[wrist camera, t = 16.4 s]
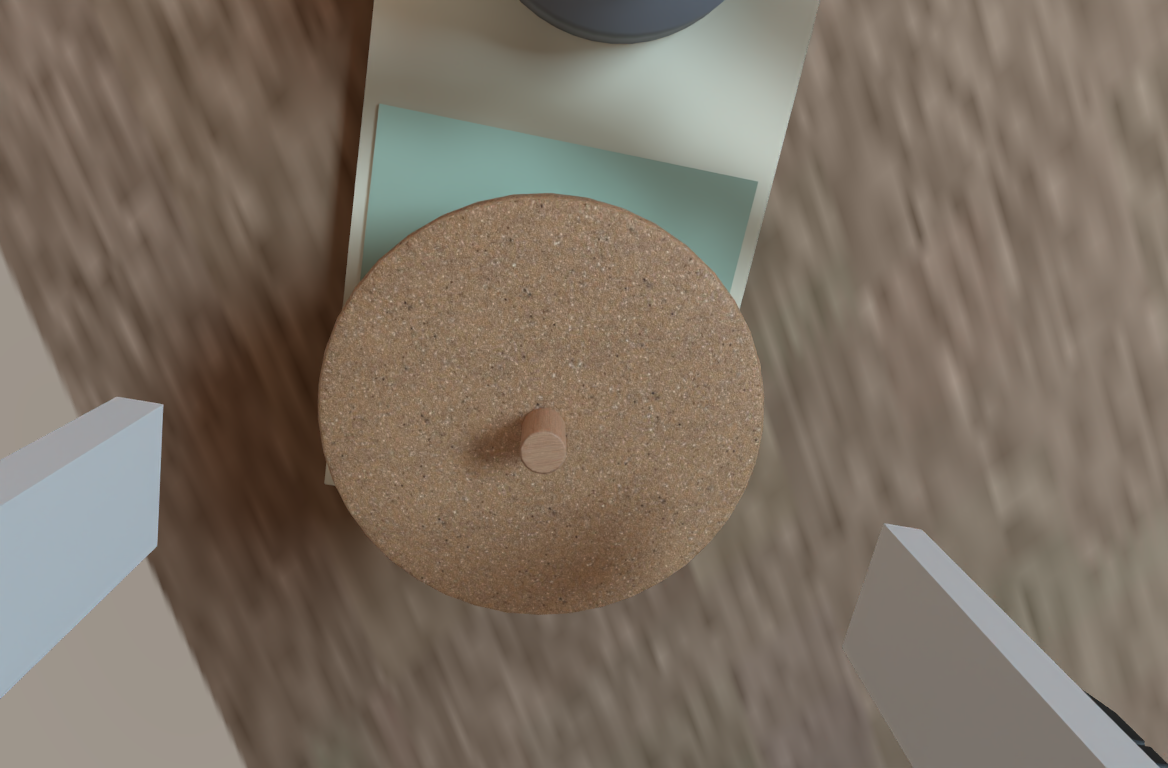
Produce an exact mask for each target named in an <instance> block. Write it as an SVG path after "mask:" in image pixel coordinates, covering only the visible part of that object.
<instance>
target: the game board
mask: <svg viewBox="0 0 1168 768" xmlns="http://www.w3.org/2000/svg"><path fill="white" fill-rule="evenodd" d="M819 3H820V0H374V7H373V17H372V27H371V36H370V46H369V56H368V65H367V75H366V85H365V94H364V104H363V114H362V124H361V133H360V143H359V153H358V162H357V172H356V182H355V191H354V201H353V211H352V221H351V230H350V240H349V250H348V259H347V269H346V279H345V288H344V298H343V307H344V305H345V304H346V302H347V300H348V299H349V297H350V295H351V294H352V292H353V290H354V288H355V287H356V286H357V285H358V283H359V282H360V281H361V280H362V279H363V278H364V276H365V275H366V274H367V273H368V272H369V270H370V269H371V268H372V267H373V266H374V265H375V263H376V262H377V261H378V260H379V259H380V258H381V257H383V256H384V255H385V254H386V253H387V252H389V251H390V250H391V249H392V248H393V247H395V246H396V245H397V244H398V243H399V242H401V241H402V240H403V239H404V238H405V237H407V236H408V235H409V234H411V233H412V232H414V231H416V230H418V229H419V228H421V227H423V226H424V225H426V224H428V223H430V222H431V221H433V220H435V219H436V218H438V217H440V216H442V215H444V214H446V213H449V212H452V211H454V210H457V209H460V208H462V207H465V206H468V205H470V204H473V203H475V202H479V201H484V200H489V199H493V198H498V197H503V196H508V195H513V194H537V193H555V194H563V195H571V196H579V197H587V198H591V199H594V200H597V201H601V202H604V203H608V204H611V205H615V206H618V207H621V208H624V209H626V210H628V211H630V212H632V213H634V214H636V215H639V216H641V217H643V218H645V219H647V220H649V221H651V222H653V223H655V224H657V225H658V226H660V227H661V228H663V229H664V230H666V231H667V232H668V233H670V234H671V235H673V236H674V237H676V238H677V239H678V240H680V241H681V242H683V243H684V244H686V245H687V246H688V247H689V248H690V249H691V250H692V251H693V252H694V253H695V254H696V255H697V256H698V257H699V258H700V259H701V260H702V261H703V262H704V263H705V264H706V265H707V266H708V267H710V268H711V269H712V270H713V271H714V272H715V274H716V275H717V277H718V278H719V279H720V281H721V282H722V283H723V285H724V286H725V288H726V289H727V290H728V292H729V293H730V294H731V296H732V297H733V299H734V300H735V302H736V304H737V306H738V308H739V309H740V305H741V301H742V298H743V294H744V290H745V286H746V282H747V278H748V275H749V271H750V267H751V263H752V259H753V255H754V252H755V248H756V244H757V240H758V236H759V232H760V229H761V225H762V221H763V217H764V213H765V209H766V206H767V202H768V198H769V194H770V190H771V187H772V183H773V179H774V175H775V171H776V167H777V164H778V160H779V156H780V152H781V148H782V144H783V141H784V137H785V133H786V129H787V125H788V121H789V118H790V114H791V110H792V106H793V102H794V98H795V95H796V91H797V87H798V83H799V79H800V76H801V72H802V68H803V64H804V60H805V56H806V53H807V49H808V45H809V41H810V37H811V33H812V30H813V26H814V22H815V18H816V14H817V10H818V7H819ZM342 309H343V308H342ZM324 484H327V485H334V486H335V484H334V482H333V480H332V477H331V474H330V471H329V468H328V465H327V463H326V473H325V482H324Z"/></svg>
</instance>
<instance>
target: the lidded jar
mask: <svg viewBox="0 0 1168 768" xmlns="http://www.w3.org/2000/svg"><path fill="white" fill-rule="evenodd" d="M763 418H764V390H763V382H762V374H761V366H760V361H759V358H758V355H757V352H756V348H755V345H754V342H753V338H752V335H751V332H750V330H749V328H748V326H747V324H746V322H745V320H744V318H743V316H742V314H741V312H740V310H739V308H738V306H737V304H736V302H735V300H734V299H733V297H732V296H731V294H730V293H729V292H728V290H727V289H726V288H725V286H724V285H723V283H722V282H721V281H720V279H719V278H718V277H717V275H716V274H715V272H714V271H713V270H712V269H711V268H710V267H708V266H707V265H706V264H705V263H704V262H703V261H702V260H701V259H700V258H699V257H698V256H697V255H696V254H695V253H694V252H693V251H692V250H691V249H690V248H689V247H688V246H687V245H686V244H684V243H683V242H681V241H680V240H678V239H677V238H676V237H674V236H673V235H671V234H670V233H668V232H667V231H666V230H664V229H663V228H661V227H660V226H658V225H657V224H655V223H653V222H651V221H649V220H647V219H645V218H643V217H641V216H639V215H636V214H634V213H632V212H630V211H628V210H626V209H624V208H621V207H618V206H615V205H611V204H608V203H604V202H601V201H597V200H594V199H591V198H587V197H579V196H571V195H563V194H555V193H537V194H513V195H508V196H503V197H498V198H493V199H489V200H484V201H479V202H475V203H473V204H470V205H468V206H465V207H462V208H460V209H457V210H454V211H452V212H449V213H446V214H444V215H442V216H440V217H438V218H436V219H435V220H433V221H431V222H430V223H428V224H426V225H424V226H423V227H421V228H419V229H418V230H416V231H414V232H412V233H411V234H409V235H408V236H407V237H405V238H404V239H403V240H402V241H401V242H399V243H398V244H397V245H396V246H395V247H393V248H392V249H391V250H390V251H389V252H387V253H386V254H385V255H384V256H383V257H381V258H380V259H379V260H378V261H377V262H376V263H375V265H374V266H373V267H372V268H371V269H370V270H369V272H368V273H367V274H366V275H365V276H364V278H363V279H362V280H361V281H360V282H359V283H358V285H357V286H356V287H355V288H354V290H353V292H352V294H351V295H350V297H349V299H348V300H347V302H346V304H345V305H344V307H343V309H342V310H341V312H340V314H339V315H338V317H337V319H336V322H335V325H334V327H333V330H332V333H331V335H330V338H329V341H328V343H327V346H326V349H325V352H324V357H323V362H322V368H321V373H320V378H319V383H318V422H319V429H320V435H321V442H322V449H323V452H324V456H325V459H326V462H327V465H328V468H329V471H330V474H331V477H332V480H333V482H334V484H335V486H336V488H337V490H338V492H339V494H340V496H341V498H342V500H343V502H344V504H345V506H346V508H347V509H348V511H349V512H350V514H351V515H352V517H353V518H354V519H355V521H356V522H357V523H358V525H359V526H360V527H361V529H362V530H363V531H364V533H365V534H366V536H367V537H368V538H369V539H370V540H371V541H372V542H373V543H374V544H375V545H376V546H377V547H378V548H379V549H380V550H381V551H382V552H383V553H384V554H385V555H386V556H387V557H388V558H389V559H390V560H392V561H393V562H394V563H396V564H397V565H398V566H400V567H401V568H402V569H404V570H405V571H406V572H408V573H409V574H411V575H412V576H413V577H415V578H416V579H418V580H420V581H421V582H423V583H425V584H427V585H429V586H431V587H432V588H434V589H436V590H438V591H440V592H442V593H444V594H445V595H448V596H451V597H454V598H457V599H460V600H462V601H465V602H468V603H470V604H473V605H476V606H481V607H485V608H490V609H494V610H498V611H503V612H509V613H524V614H537V615H541V614H563V613H573V612H578V611H583V610H588V609H593V608H598V607H603V606H606V605H609V604H612V603H615V602H618V601H621V600H624V599H627V598H630V597H632V596H634V595H636V594H638V593H640V592H642V591H644V590H646V589H648V588H650V587H652V586H654V585H656V584H658V583H660V582H662V581H663V580H664V579H666V578H667V577H669V576H670V575H672V574H673V573H675V572H676V571H677V570H679V569H680V568H682V567H683V566H685V565H686V564H687V563H688V562H689V561H691V560H692V559H693V558H694V557H695V556H696V555H697V554H698V553H699V552H700V551H701V550H702V549H703V548H704V547H706V546H707V545H708V544H709V543H710V542H711V540H712V539H713V538H714V537H715V535H716V534H717V533H718V532H719V530H720V529H721V528H722V527H723V525H724V524H725V523H726V522H727V520H728V519H729V518H730V516H731V514H732V512H733V511H734V509H735V507H736V506H737V504H738V502H739V500H740V499H741V497H742V495H743V493H744V492H745V489H746V487H747V484H748V482H749V479H750V476H751V474H752V471H753V469H754V466H755V463H756V461H757V456H758V451H759V446H760V441H761V436H762V432H763Z"/></svg>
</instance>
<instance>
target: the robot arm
mask: <svg viewBox="0 0 1168 768" xmlns="http://www.w3.org/2000/svg"><path fill="white" fill-rule="evenodd" d="M162 422H163V404H159V403H153V402H146V401H140V400H134V399H128V398H122V397H115V398H114V399H112V400H110V401H108V402H106V403H104V404H103V405H101V406H99V407H97V408H95V409H93V410H91V411H90V412H88V413H86V414H84V415H82V416H80V417H79V418H77V419H75V420H73V421H71V422H69V423H67V424H66V425H64V426H62V427H60V428H58V429H56V430H55V431H53V432H51V433H49V434H47V435H45V436H43V437H42V438H40V439H38V440H36V441H34V442H33V443H31V444H29V445H27V446H25V447H23V448H21V449H19V450H18V451H16V452H14V453H12V454H10V455H8V456H7V457H5V458H3V459H1V460H0V699H1V698H2V697H3V696H4V695H5V694H6V693H7V692H8V691H9V690H10V689H11V688H12V687H13V686H14V685H15V684H16V683H17V682H18V681H19V680H20V679H21V678H22V677H23V676H24V675H25V674H26V673H27V672H28V671H29V670H30V669H31V668H32V667H33V666H34V665H35V664H37V663H38V662H39V661H40V660H41V659H42V658H43V657H44V656H45V655H46V654H47V653H48V652H49V651H50V650H51V649H52V648H53V647H54V646H55V645H56V644H57V643H58V642H59V641H60V640H61V639H62V638H63V637H64V636H65V635H66V634H67V633H68V632H69V631H70V630H71V629H72V628H74V627H75V626H76V625H77V624H78V623H79V622H80V621H81V620H82V619H83V618H84V617H85V616H86V615H87V614H88V613H89V612H90V611H91V610H92V609H93V608H94V607H95V606H96V605H97V604H98V603H99V602H100V601H101V600H102V599H103V598H104V597H105V596H106V595H107V594H108V593H109V592H110V591H111V590H112V589H114V588H115V587H116V586H117V585H118V584H119V583H120V582H121V581H122V580H123V579H124V578H125V577H126V576H127V575H128V574H129V573H130V572H131V571H132V570H133V569H134V568H135V567H136V566H137V565H138V564H139V563H140V562H141V561H142V560H143V559H144V558H145V557H146V556H147V555H148V554H150V553H151V552H152V551H153V550H154V549H155V548H156V547H157V539H158V515H159V492H160V468H161V445H162ZM842 649H843V651H844V652H845V654H846V656H847V657H848V659H849V661H850V662H851V664H852V666H853V667H854V669H855V671H856V672H857V674H858V676H859V678H860V679H861V681H862V683H863V684H864V686H865V688H866V689H867V691H868V693H869V694H870V696H871V698H872V699H873V701H874V703H875V705H876V706H877V708H878V710H879V711H880V713H881V715H882V716H883V718H884V720H885V721H886V723H887V725H888V726H889V728H890V730H891V731H892V733H893V735H894V737H895V738H896V740H897V742H898V743H899V745H900V747H901V748H902V750H903V752H904V753H905V755H906V757H907V758H908V760H909V762H910V764H911V765H912V767H913V768H1168V764H1167V763H1166V762H1165V761H1164V760H1163V759H1162V758H1161V757H1160V756H1159V755H1158V754H1157V753H1156V752H1155V751H1154V750H1153V749H1152V748H1151V747H1147V746H1145V744H1144V742H1145V741H1144V740H1143V739H1142V738H1141V737H1140V736H1139V735H1138V734H1137V733H1136V732H1135V731H1134V730H1133V729H1132V728H1131V727H1130V726H1129V725H1127V724H1126V723H1125V722H1124V721H1123V720H1122V719H1121V718H1120V717H1119V716H1118V715H1117V714H1116V713H1115V712H1114V711H1112V710H1111V709H1109V708H1108V707H1106V706H1105V705H1104V704H1102V703H1101V702H1099V701H1098V700H1096V699H1095V698H1094V697H1092V696H1091V695H1089V694H1088V693H1086V692H1085V691H1083V690H1082V689H1081V688H1080V687H1079V686H1078V685H1077V684H1076V683H1075V682H1074V681H1073V680H1072V679H1071V678H1070V677H1069V676H1068V675H1067V674H1066V673H1065V672H1064V671H1063V670H1062V669H1061V668H1060V667H1059V666H1058V665H1057V664H1056V663H1055V662H1054V661H1053V660H1052V659H1051V658H1050V657H1049V656H1048V655H1047V654H1046V653H1045V652H1044V651H1043V650H1042V649H1041V648H1040V647H1039V646H1038V645H1037V644H1036V643H1035V642H1034V641H1033V640H1032V639H1031V638H1030V637H1029V636H1028V635H1027V634H1026V633H1025V632H1024V631H1023V630H1022V629H1021V628H1020V627H1019V626H1018V625H1017V624H1016V623H1015V622H1014V621H1013V620H1012V619H1011V618H1010V617H1009V616H1008V615H1007V614H1006V613H1005V612H1004V611H1003V610H1002V609H1001V608H1000V607H999V606H998V605H997V604H996V603H995V602H994V601H993V600H992V599H991V598H990V597H989V596H988V595H987V594H986V593H985V592H984V591H983V590H982V589H981V588H980V587H979V586H978V585H977V584H976V583H975V582H974V581H973V580H972V579H971V578H970V577H969V576H968V575H967V574H966V573H965V572H964V571H963V570H962V569H961V568H960V567H959V566H958V565H957V564H956V563H955V562H954V561H953V560H952V559H951V558H950V557H949V556H948V555H947V554H946V553H945V552H944V551H943V550H942V549H941V548H940V547H939V546H938V545H937V544H936V543H935V542H934V541H933V540H932V539H931V538H930V537H929V536H928V535H927V534H926V533H925V532H924V531H923V530H921V529H915V528H909V527H903V526H897V525H891V524H885V523H883V526H882V529H881V532H880V535H879V538H878V541H877V544H876V547H875V550H874V553H873V556H872V559H871V562H870V565H869V568H868V571H867V574H866V577H865V580H864V583H863V586H862V589H861V592H860V595H859V598H858V601H857V604H856V607H855V610H854V613H853V616H852V619H851V622H850V625H849V628H848V631H847V634H846V637H845V640H844V642H843V645H842Z"/></svg>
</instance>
